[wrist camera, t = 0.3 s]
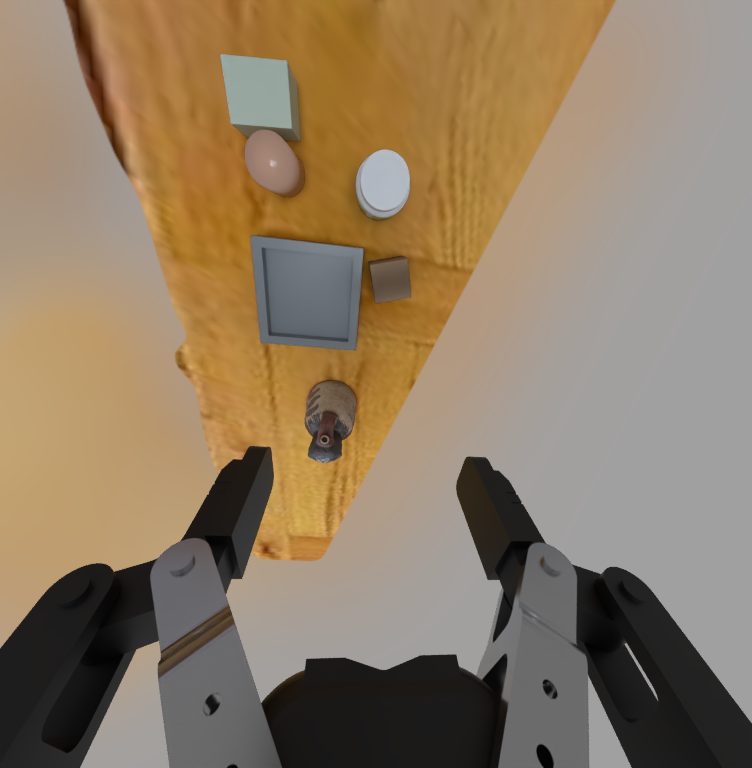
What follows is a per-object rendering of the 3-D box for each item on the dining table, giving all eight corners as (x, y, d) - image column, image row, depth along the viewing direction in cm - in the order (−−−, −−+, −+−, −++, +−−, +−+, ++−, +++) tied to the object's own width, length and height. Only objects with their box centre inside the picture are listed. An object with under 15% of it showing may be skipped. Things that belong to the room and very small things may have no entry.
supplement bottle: (410, 186, 29) (427, 170, 22) (385, 229, 31) (394, 229, 23) (371, 154, 28) (375, 126, 20) (348, 202, 29) (344, 192, 22)
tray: (257, 235, 30) (250, 235, 28) (363, 247, 31) (363, 248, 29) (266, 336, 36) (260, 342, 34) (355, 343, 37) (355, 350, 35)
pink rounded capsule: (266, 141, 27) (246, 121, 22) (308, 157, 27) (296, 140, 23) (262, 189, 28) (242, 179, 24) (301, 203, 29) (289, 195, 25)
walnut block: (368, 261, 32) (369, 265, 29) (402, 255, 32) (407, 258, 29) (373, 296, 34) (375, 303, 31) (405, 290, 34) (411, 297, 31)
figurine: (304, 414, 42) (286, 475, 32) (312, 374, 39) (294, 427, 28) (350, 423, 43) (347, 484, 33) (361, 384, 40) (362, 439, 30)
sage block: (240, 79, 25) (220, 54, 21) (297, 84, 25) (286, 60, 21) (247, 137, 26) (230, 123, 23) (300, 142, 27) (291, 128, 23)
